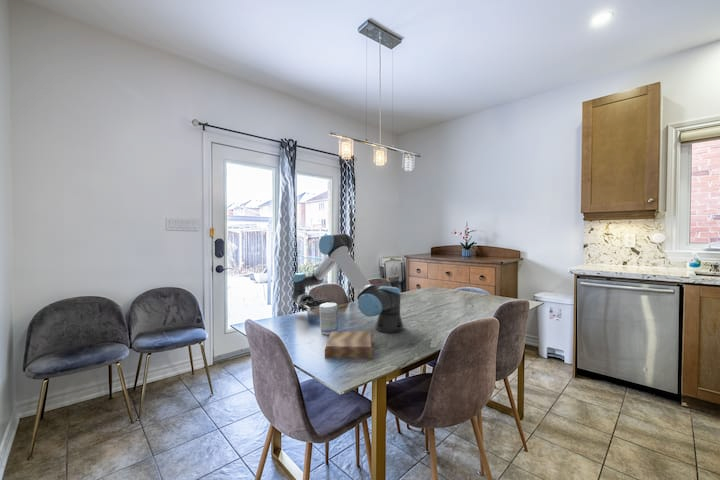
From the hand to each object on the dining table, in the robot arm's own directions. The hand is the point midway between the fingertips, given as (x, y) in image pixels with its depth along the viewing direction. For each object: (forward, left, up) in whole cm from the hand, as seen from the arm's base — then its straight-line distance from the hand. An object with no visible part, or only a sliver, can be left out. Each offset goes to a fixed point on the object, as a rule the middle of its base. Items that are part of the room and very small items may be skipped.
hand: (321, 308), depth 171 cm
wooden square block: (-18, +31, -11) cm, 37 cm away
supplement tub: (-6, +8, -11) cm, 14 cm away
